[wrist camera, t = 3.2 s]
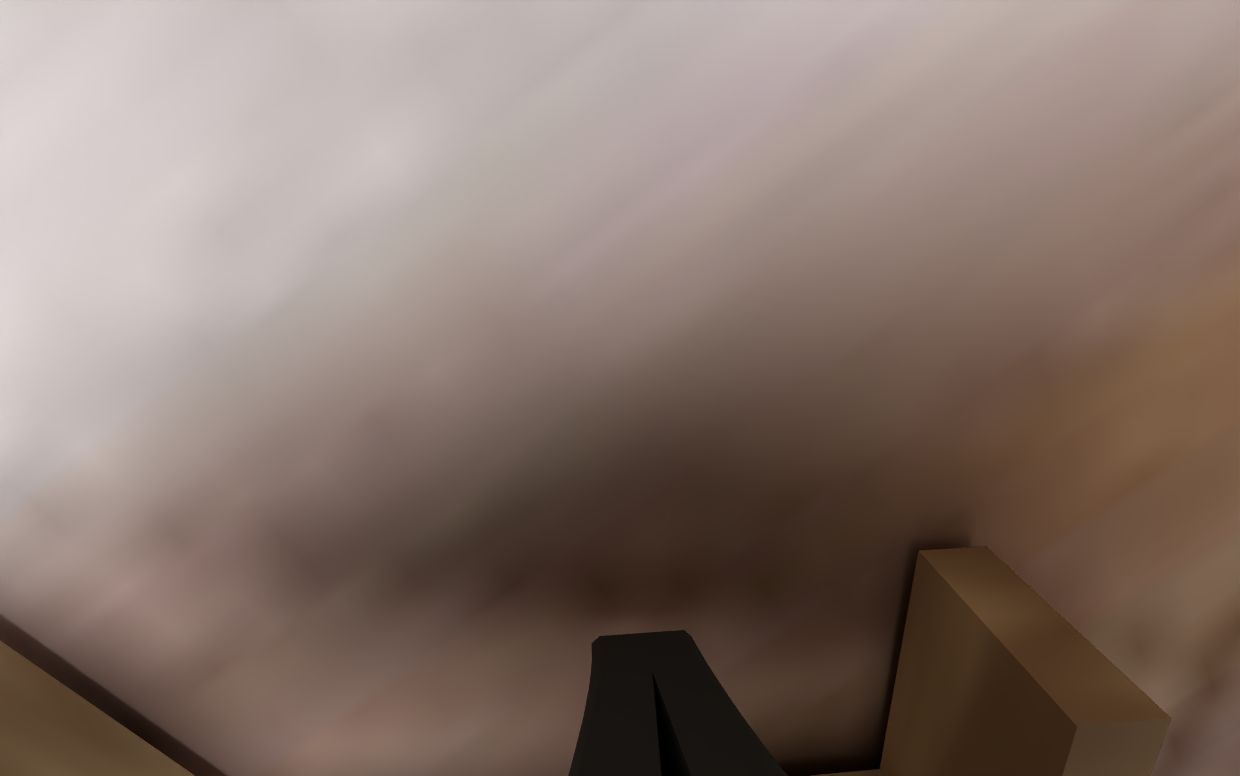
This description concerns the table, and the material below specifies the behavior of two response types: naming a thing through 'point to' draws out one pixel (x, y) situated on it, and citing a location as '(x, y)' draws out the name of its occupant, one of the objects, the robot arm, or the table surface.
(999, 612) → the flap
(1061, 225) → the table surface
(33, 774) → the tan wooden block
